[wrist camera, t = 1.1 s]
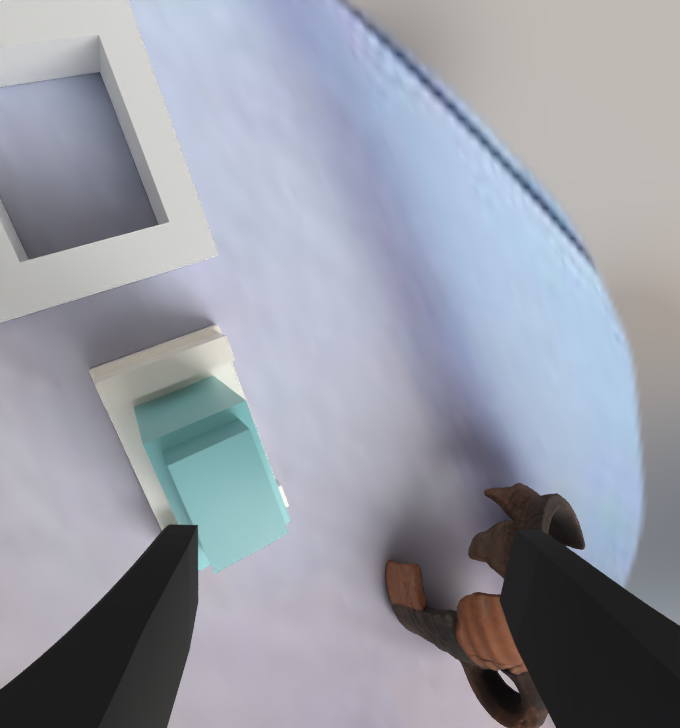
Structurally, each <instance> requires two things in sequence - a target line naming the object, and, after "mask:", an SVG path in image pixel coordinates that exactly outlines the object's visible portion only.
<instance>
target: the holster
mask: <svg viewBox="0 0 680 728" xmlns="http://www.w3.org/2000/svg"><path fill="white" fill-rule="evenodd" d="M234 360H235V358H234V355H233V353H232V350H231V347H230V345H229V342H228V339H227V337H226V335H223V334H221V331H220V328H219V326H218V325H216V324H215V325H212V326H209V327H206V328H204V329H201V330H198V331H195V332H192V333H190V334H187V335H184V336H181V337H178V338H176V339H173V340H170V341H167V342H164V343H162V344H159V345H156V346H153V347H150V348H148V349H145V350H142V351H139V352H136V353H134V354H131V355H128V356H125V357H122V358H120V359H117V360H114V361H111V362H108V363H106V364H103V365H100V366H97V367H94V368H92V369H89V373H90V375H91V377H92V380H93V382H94V385H95V387H96V389H97V391H98V394H99V396H100V398H101V400H102V402H103V405H104V407H105V409H106V410H107V412H108V415H109V417H110V419H111V421H112V423H113V425H114V428H115V430H116V432H117V434H118V436H119V439H120V441H121V443H122V445H123V447H124V449H125V452H126V454H127V456H128V458H129V460H130V462H131V465H132V467H133V469H134V471H135V473H136V476H137V478H138V480H139V482H140V484H141V486H142V489H143V491H144V493H145V495H146V497H147V500H148V502H149V504H150V506H151V508H152V510H153V513H154V515H155V517H156V519H157V521H158V524H159V526H160V528H161V530H163V529H164V528H165V527H166V526H168V525H169V524H175V525H178V522H177V520H176V518H175V516H174V514H173V511H172V509H171V507H170V505H169V502H168V500H167V498H166V496H165V493H164V491H163V489H162V487H161V484H160V482H159V480H158V478H157V475H156V473H155V471H154V469H153V466H152V464H151V462H150V460H149V457H148V455H147V453H146V451H145V448H144V446H143V444H142V440H141V435H140V431H139V427H138V423H137V419H136V415H135V411H134V407H135V406H138V405H140V404H143V403H145V402H148V401H150V400H153V399H155V398H158V397H161V396H163V395H166V394H168V393H171V392H173V391H176V390H178V389H181V388H183V387H186V386H188V385H191V384H193V383H196V382H198V381H201V380H203V379H206V378H209V377H211V376H214V377H216V378H217V379H218V380H220V381H221V382H222V383H224V384H225V385H226V386H228V387H229V388H230V389H232V390H233V391H234V392H235V393H237V394H238V395H239V396H241V397H242V398H243V399H245V400H246V398H245V396H244V393H243V390H242V388H241V385H240V382H239V379H238V377H237V374H236V371H235V369H234V366H233V363H232V361H234ZM246 402H247V401H246ZM247 405H248V404H247ZM248 407H249V406H248ZM249 410H250V409H249ZM250 413H251V412H250ZM251 415H252V414H251ZM252 418H253V417H252ZM253 421H254V420H253ZM254 424H255V422H254ZM255 426H256V425H255ZM256 429H257V428H256ZM257 432H258V431H257ZM258 434H259V433H258ZM259 437H260V436H259ZM260 440H261V439H260ZM261 442H262V441H261ZM262 445H263V444H262ZM263 448H264V447H263ZM264 450H265V449H264ZM265 453H266V452H265ZM266 456H267V455H266ZM267 458H268V457H267ZM268 461H269V460H268ZM269 464H270V463H269ZM270 467H271V466H270ZM271 469H272V468H271ZM272 472H273V471H272ZM273 475H274V474H273ZM274 477H275V476H274ZM275 480H276V479H275ZM276 483H277V485H278V488H279V491H280V493H281V496H282V499H283V501H284V504H285V507H287V506H289V504H288V502H287V499H286V496H285V494H284V491H283V488H282V485H281V484H280V483H279V482H278V481H277V480H276Z"/></svg>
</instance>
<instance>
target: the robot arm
mask: <svg viewBox="0 0 680 728" xmlns="http://www.w3.org/2000/svg"><path fill="white" fill-rule="evenodd" d="M499 601H500V604H501V607H502V610H503V613H504V616H505V619H506V621H507V624H508V627H509V630H510V633H511V635H512V638H513V641H514V643H515V646H516V648H517V650H518V652H519V654H520V656H521V658H522V660H523V662H524V664H525V666H526V668H527V670H528V673H529V675H530V677H531V679H532V681H533V683H534V685H535V687H536V689H537V691H538V693H539V695H540V697H541V699H542V701H543V703H544V704H545V706H546V708H547V710H548V712H549V714H550V716H551V718H552V720H553V722H554V724H555V726H556V728H680V626H679V625H677V624H676V623H675V622H673V621H671V620H670V619H668V618H667V617H665V616H664V615H662V614H661V613H659V612H657V611H656V610H655V609H653V608H651V607H650V606H649V605H647V604H646V603H644V602H643V601H641V600H640V599H638V598H637V597H636V596H634V595H633V594H631V593H630V592H628V591H627V590H626V589H624V588H623V587H621V586H620V585H618V584H617V583H616V582H614V581H613V580H611V579H610V578H609V577H607V576H606V575H604V574H603V573H602V572H600V571H599V570H598V569H596V568H595V567H593V566H592V565H591V564H589V563H588V562H587V561H585V560H584V559H582V558H581V557H580V556H578V555H577V554H575V553H574V552H573V551H571V550H570V549H568V548H567V547H566V546H564V545H563V544H561V543H560V542H558V541H557V540H556V539H554V538H553V537H551V536H550V535H548V534H546V533H545V532H543V531H542V530H516V532H515V536H514V541H513V545H512V549H511V553H510V558H509V562H508V566H507V570H506V575H505V579H504V583H503V587H502V592H501V596H500V600H499ZM197 605H198V525H175V524H169V525H168V526H166V527H165V528H164V529H163V530H162V531H161V533H160V534H159V535H158V536H157V538H156V539H155V540H154V541H153V542H152V544H151V545H150V546H149V547H148V548H147V550H146V551H145V552H144V553H143V554H142V555H141V557H140V558H139V559H138V560H137V561H136V562H135V563H134V565H133V566H132V567H131V568H130V569H129V570H128V571H127V572H126V573H125V574H124V576H123V577H122V578H121V579H120V580H119V581H118V582H117V583H116V584H115V585H114V586H113V587H112V588H111V590H110V591H109V592H108V593H107V594H106V595H105V596H104V597H103V598H102V599H101V600H100V601H99V602H98V603H97V604H96V605H95V606H94V607H93V608H92V609H91V610H90V611H89V612H88V613H87V614H86V615H85V616H84V617H83V618H82V619H81V620H80V621H79V622H78V623H77V624H75V625H74V626H73V627H72V628H71V629H70V630H69V631H68V632H67V633H66V634H65V635H64V636H63V637H62V638H61V639H60V640H58V641H57V642H56V643H55V644H54V645H53V646H52V647H51V648H50V649H48V650H47V651H46V652H45V653H44V654H43V655H42V656H40V657H39V658H38V659H37V660H36V661H35V662H33V663H32V664H31V665H30V666H29V667H27V668H26V669H25V670H24V671H23V672H22V673H20V674H19V675H18V676H17V677H16V678H14V679H13V680H12V681H11V682H9V683H8V684H7V685H5V686H4V687H3V688H2V689H0V728H167V725H168V722H169V718H170V715H171V712H172V708H173V705H174V701H175V698H176V695H177V691H178V688H179V684H180V681H181V677H182V674H183V670H184V667H185V664H186V660H187V656H188V653H189V649H190V644H191V639H192V633H193V628H194V622H195V616H196V611H197Z"/></svg>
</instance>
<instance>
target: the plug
mask: <svg viewBox="0 0 680 728" xmlns="http://www.w3.org/2000/svg"><path fill="white" fill-rule="evenodd" d="M134 411H135V415H136V419H137V423H138V427H139V431H140V435H141V440H142V444H143V446H144V448H145V451H146V453H147V455H148V457H149V460H150V462H151V464H152V466H153V469H154V471H155V473H156V475H157V478H158V480H159V482H160V484H161V487H162V489H163V491H164V493H165V496H166V498H167V500H168V502H169V505H170V507H171V509H172V511H173V514H174V516H175V518H176V520H177V522H178V525H198V570H199V571H200V570H202V569H204V568H206V567H208V566H209V565H211V567H212V569H213V572H214V574H215V573H217V572H219V571H221V570H223V569H225V568H226V567H228V566H230V565H232V564H234V563H235V562H237V561H239V560H241V559H243V558H245V557H246V556H248V555H250V554H252V553H254V552H256V551H257V550H259V549H261V548H263V547H265V546H266V545H268V544H270V543H272V542H274V541H276V540H277V539H279V538H281V537H283V536H285V535H287V534H288V533H289V532H288V529H287V526H286V524H287V523H289V522H291V520H290V518H289V515H288V512H287V510H286V507H285V504H284V501H283V499H282V496H281V493H280V491H279V488H278V485H277V483H276V480H275V477H274V475H273V472H272V469H271V467H270V464H269V461H268V458H267V456H266V453H265V450H264V448H263V445H262V442H261V440H260V437H259V434H258V432H257V429H256V426H255V424H254V421H253V418H252V415H251V413H250V410H249V407H248V405H247V402H246V400H245V399H243V398H242V397H241V396H239V395H238V394H237V393H235V392H234V391H233V390H232V389H230V388H229V387H228V386H226V385H225V384H224V383H222V382H221V381H220V380H218V379H217V378H216V377H214V376H211V377H209V378H206V379H203V380H201V381H198V382H196V383H193V384H191V385H188V386H186V387H183V388H181V389H178V390H176V391H173V392H171V393H168V394H166V395H163V396H161V397H158V398H155V399H153V400H150V401H148V402H145V403H143V404H140V405H138V406H135V407H134Z"/></svg>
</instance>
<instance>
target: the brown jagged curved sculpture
mask: <svg viewBox="0 0 680 728" xmlns="http://www.w3.org/2000/svg"><path fill="white" fill-rule="evenodd" d="M484 494H485V496H487V497H488V498H490V499H492V500H493V501H495V502H496V503H497V504H498V505H500V507H501V508H502V509H503V510H504V511H505V512H506V513H507V514H508V515H509V516H510V518H511V519H512V520H513V521H506V520H504V521H501V522H499V523H497V524H495V525H494V526H492V527H491V528H490V529H488V530H487V531H485V532H481V533H479V534H477V535H476V536H475V537H474V539H473V540H472V543H471V545H470V547H469V552H468V555H469V557H470V558H471V559H474V560H478V561H482V562H487V563H488V565H489V566H490V567H491V568H492V569H494V570H495V571H496V572H497V573H498V574H499V575H501V576H502V577H503V578H504V579H505V575H506V570H507V566H508V562H509V558H510V553H511V549H512V545H513V541H514V536H515V532H516V530H542V531H543V532H545V533H546V534H548V535H550V536H551V537H553V538H554V539H556V540H557V541H558V542H560V543H561V544H563V545H564V546H569V547H572V548H575V549H580V550H583V549H584V548H585V542H584V538H583V534H582V530H581V528H580V525H579V522H578V519H577V517H576V514H575V512H574V511H573V509H572V507H571V506H570V504H569V503H568V502H567V501H566V500H565V499H564V498H562V496H560V495H558V494H548V495H542V496H540V495H539V494H538V493H537V492H535V491H534V490H532V489H531V488H529V487H528V486H525V485H523V484H521V483H517V484H515V485H513V486H511V487H506V488H492V489H487V490H485V491H484ZM386 581H387V589H388V593H389V596H390V600H391V602H392V607H393V610H394V612H395V614H396V616H397V618H398V620H399V621H400V623H401V624H402V625H403V626H404V627H405V628H406V629H408V630H409V631H411V632H413V633H415V634H417V635H419V636H421V637H423V638H424V639H426V640H428V641H429V642H431V643H433V644H435V645H436V646H437V647H438V648H439V649H441V650H443V651H445V652H448V653H449V654H450V655H452V656H453V657H454V658H455V659H458V660H459V661H460V662H461V664H462V666H463V668H464V671H465V674H466V676H467V679H468V681H469V684H470V686H471V688H472V690H473V692H474V693H475V695H476V697H477V699H478V700H479V702H480V703H481V705H482V706H483V707H484V709H485V710H486V711H487V712H488V713H489V714H490V715H491V717H492V718H494V719H495V720H496V721H497V722H499V723H500V724H501V725H503V726H505V727H507V728H539V727H540V726H541V725H543V723H544V721H545V719H546V716H547V714H548V713H549V712H548V710H547V708H546V706H545V704H544V703H543V701H542V699H541V697H540V695H539V693H538V691H537V689H536V687H535V685H534V683H533V681H532V679H531V677H530V675H529V673H528V670H527V668H526V666H525V664H524V662H523V660H522V658H521V656H520V654H519V652H518V650H517V648H516V646H515V643H514V641H513V638H512V635H511V633H510V630H509V627H508V624H507V621H506V619H505V616H504V613H503V610H502V607H501V604H500V601H499V600H500V596H501V595H500V594H498V595H495V594H486V593H481V592H475V593H473V594H471V595H467V596H465V597H463V598H462V599H461V600H460V602H459V604H458V607H457V611H453V610H435V609H434V608H431V607H429V606H428V605H427V601H426V598H425V595H424V589H423V583H422V575H421V568H420V566H419V565H417V564H409V563H406V564H401V563H398V562H395V561H391V560H390V561H388V562H387V564H386ZM498 670H501V671H502V672H503V673H505V674H506V675H507V676H508V677H509V678H510V679H511V680H512V681H513V682H514V683H515V685H516V687H517V689H518V691H519V693H518V692H516V691H514V690H513V689H512V688H511V687H509V686H508V685H507V684H506V683H505V682H504V680H503V679H502V678H501V676H500V675H499V673H498Z"/></svg>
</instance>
